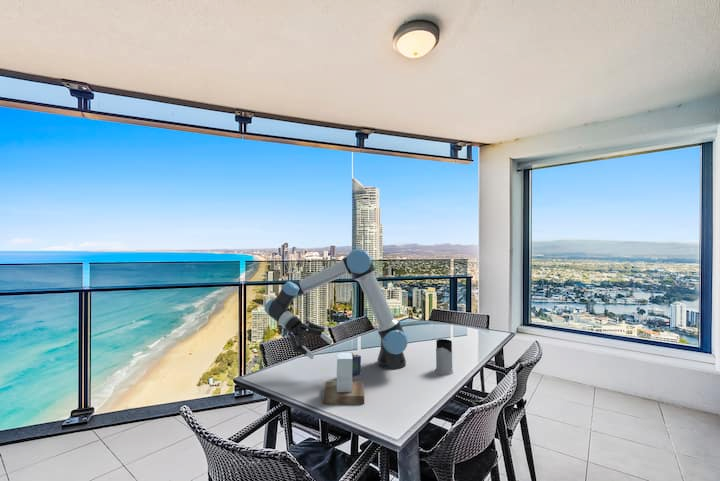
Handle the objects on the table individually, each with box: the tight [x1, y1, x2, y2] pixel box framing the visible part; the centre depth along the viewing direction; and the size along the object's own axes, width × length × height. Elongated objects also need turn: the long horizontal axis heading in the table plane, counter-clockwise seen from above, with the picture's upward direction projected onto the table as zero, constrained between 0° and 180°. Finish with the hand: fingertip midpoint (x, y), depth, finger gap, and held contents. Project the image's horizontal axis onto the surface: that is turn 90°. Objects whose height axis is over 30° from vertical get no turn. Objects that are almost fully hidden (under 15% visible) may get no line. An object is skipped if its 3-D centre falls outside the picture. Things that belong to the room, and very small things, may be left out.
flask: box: [350, 351, 362, 378], centre depth 148 cm, size 9×3×11 cm, turn 121°
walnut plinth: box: [322, 381, 365, 405], centre depth 126 cm, size 16×14×3 cm
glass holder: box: [435, 338, 454, 376], centre depth 157 cm, size 9×14×15 cm, turn 152°
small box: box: [336, 352, 353, 392], centre depth 126 cm, size 8×6×13 cm
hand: (322, 349), depth 140 cm, fingers open, 13 cm apart
